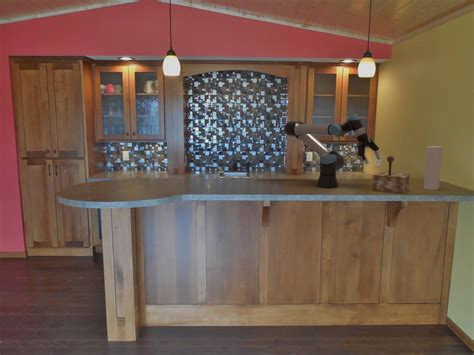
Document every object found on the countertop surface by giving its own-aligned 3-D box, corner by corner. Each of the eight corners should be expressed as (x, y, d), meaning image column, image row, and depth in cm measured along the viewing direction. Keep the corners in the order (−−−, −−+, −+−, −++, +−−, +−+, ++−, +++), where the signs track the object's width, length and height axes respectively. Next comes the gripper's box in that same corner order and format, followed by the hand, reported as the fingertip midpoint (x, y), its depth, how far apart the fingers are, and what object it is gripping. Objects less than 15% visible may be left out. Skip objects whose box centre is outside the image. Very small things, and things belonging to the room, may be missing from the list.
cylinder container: (430, 190, 238) (433, 146, 233) (420, 187, 247) (423, 145, 242) (442, 189, 239) (445, 146, 235) (432, 187, 248) (435, 145, 244)
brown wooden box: (372, 190, 239) (372, 176, 237) (378, 186, 252) (379, 173, 250) (403, 193, 227) (404, 178, 225) (408, 189, 240) (409, 175, 238)
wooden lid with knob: (372, 175, 237) (373, 155, 235) (379, 173, 250) (380, 153, 248) (404, 178, 225) (406, 157, 223) (409, 175, 238) (410, 155, 236)
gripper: (353, 136, 241) (366, 164, 238) (375, 129, 253) (388, 155, 250) (345, 140, 247) (358, 167, 244) (368, 133, 260) (380, 159, 257)
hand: (373, 161), depth 247 cm, fingers open, 13 cm apart
